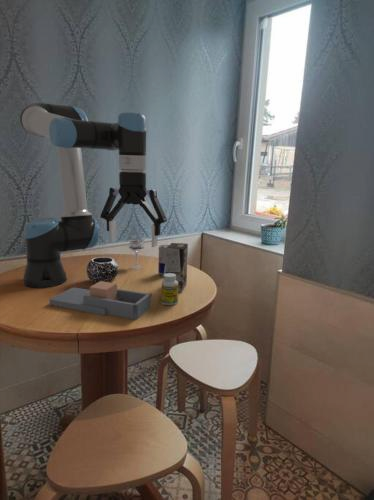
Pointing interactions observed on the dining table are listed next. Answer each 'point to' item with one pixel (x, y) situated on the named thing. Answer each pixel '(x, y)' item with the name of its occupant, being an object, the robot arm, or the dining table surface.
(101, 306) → the sliding lid box
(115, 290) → the terracotta block
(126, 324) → the dining table surface
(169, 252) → the coffee box
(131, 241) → the wineglass
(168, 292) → the supplement bottle
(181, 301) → the dining table surface
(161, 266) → the energy drink
